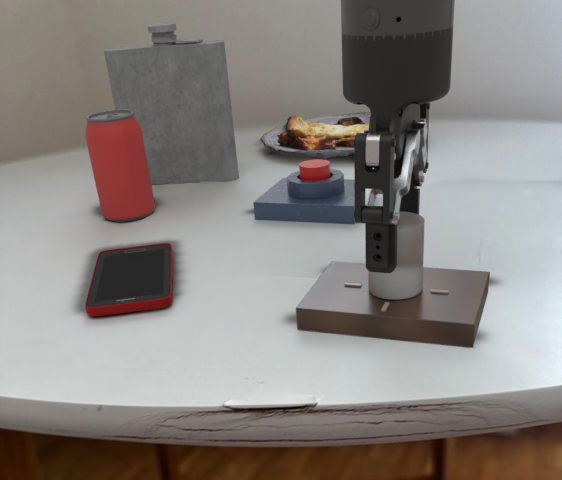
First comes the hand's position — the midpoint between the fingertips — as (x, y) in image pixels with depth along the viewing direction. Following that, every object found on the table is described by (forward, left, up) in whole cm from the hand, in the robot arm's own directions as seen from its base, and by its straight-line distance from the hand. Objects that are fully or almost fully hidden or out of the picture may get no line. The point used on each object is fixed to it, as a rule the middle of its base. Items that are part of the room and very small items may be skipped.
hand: (393, 250), depth 55 cm
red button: (+15, -25, -2) cm, 29 cm away
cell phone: (+26, -1, -5) cm, 27 cm away
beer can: (+38, -20, -6) cm, 43 cm away
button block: (+15, -25, -5) cm, 30 cm away
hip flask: (+38, -35, -6) cm, 52 cm away
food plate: (+21, -56, -6) cm, 60 cm away
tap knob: (0, 0, -3) cm, 3 cm away
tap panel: (0, 0, -5) cm, 5 cm away
